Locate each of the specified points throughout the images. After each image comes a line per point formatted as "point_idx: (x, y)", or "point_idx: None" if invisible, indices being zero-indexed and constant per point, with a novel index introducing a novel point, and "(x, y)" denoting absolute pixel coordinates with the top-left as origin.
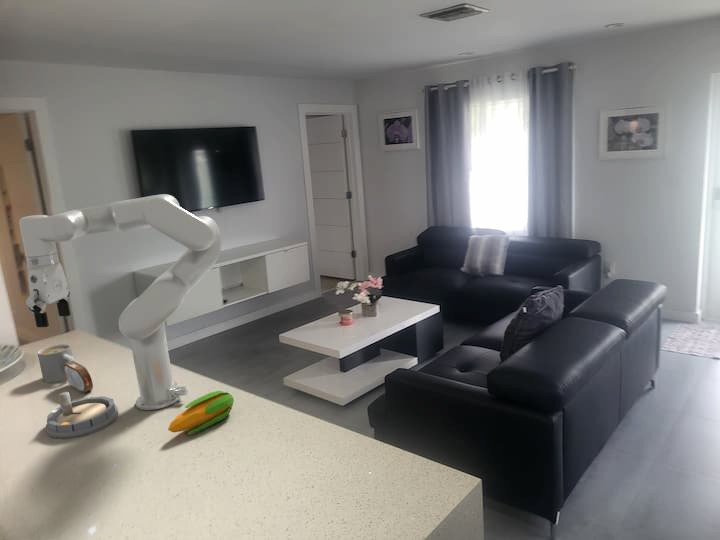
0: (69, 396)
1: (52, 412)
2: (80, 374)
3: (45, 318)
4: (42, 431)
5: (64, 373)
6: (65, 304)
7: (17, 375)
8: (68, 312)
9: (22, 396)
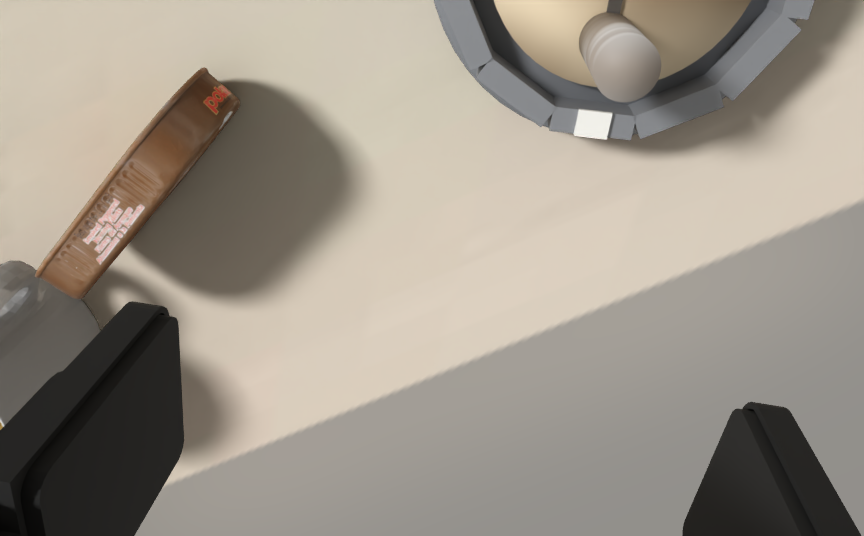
0: (622, 31)
1: (609, 127)
2: (203, 142)
3: (839, 528)
4: (660, 139)
5: (44, 304)
6: (58, 485)
7: None
8: (141, 342)
9: (244, 396)
